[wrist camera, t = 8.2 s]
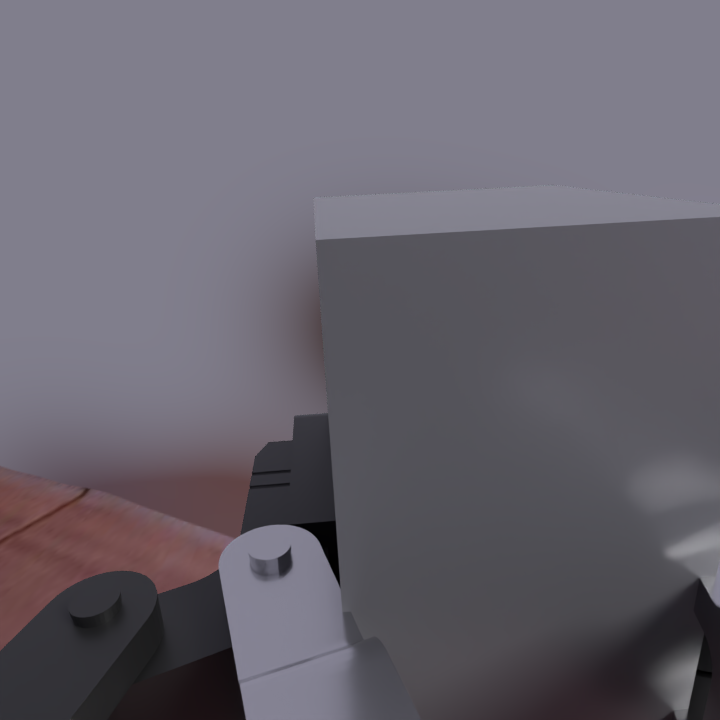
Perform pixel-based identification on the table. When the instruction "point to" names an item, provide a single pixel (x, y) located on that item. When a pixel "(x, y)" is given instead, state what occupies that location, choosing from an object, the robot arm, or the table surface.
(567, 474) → the block
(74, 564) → the table surface
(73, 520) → the table surface
